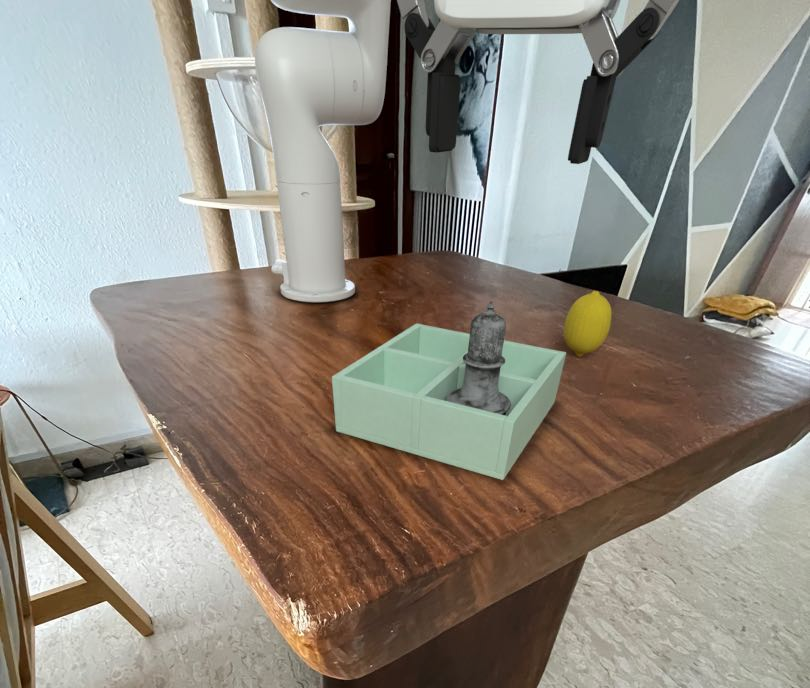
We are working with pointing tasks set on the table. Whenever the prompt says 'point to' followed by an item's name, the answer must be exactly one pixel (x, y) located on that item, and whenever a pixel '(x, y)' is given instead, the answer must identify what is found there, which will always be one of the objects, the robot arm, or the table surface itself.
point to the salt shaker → (483, 365)
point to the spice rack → (426, 399)
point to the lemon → (587, 323)
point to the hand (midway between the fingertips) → (506, 156)
